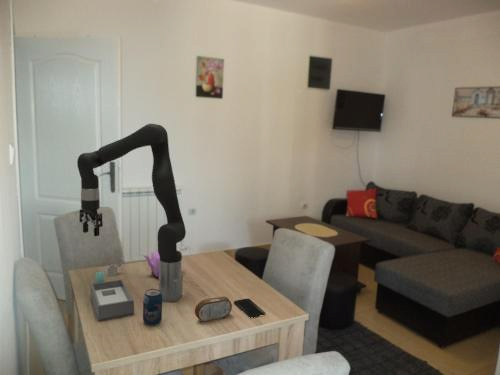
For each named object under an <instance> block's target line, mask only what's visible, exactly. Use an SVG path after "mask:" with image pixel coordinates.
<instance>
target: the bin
mask: <svg viewBox="0 0 500 375" xmlns="http://www.w3.org/2000/svg"><path fill="white" fill-rule="evenodd" d="M90 298H91V299H90V300H91V302H92V306H93V309H94V314H95V316H96V319H97V321H98V322H102V321H109V320H112V319H113V320H114V319H119V318H122V317H123V318H125V317H130V316H134V315H135V314H134V311H135V307H134V306H135V303H134V302H135V300H134V298H133V296H132V294H131V292H130V290H129V289H128V287H127V285H126V283H125V281H124V279H114V280H108V281H107V280H106V281H104V282H99V283H95V282H93V283H90Z"/></svg>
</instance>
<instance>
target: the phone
mask: <svg viewBox="0 0 500 375" xmlns="http://www.w3.org/2000/svg"><path fill="white" fill-rule="evenodd" d="M233 304H234V305H235V306H236V307H237V308H238V309H239V310H240V311H241V312H242V311H243V312H244V313H245V314H246V315H247V316H248V317H250V318H249V319H252V318H251V317H253V318H254V317H256V318H257V317H258V316H260V315H264V314H265V315H266V311H264V310H263V309H262V308H261V307H260V306H258V305H257V304H256V302H254V301H252V299H251V298H242V299H238V300H234V301H233ZM243 312H242V313H243ZM244 313H243V314H244ZM245 314H244V315H245ZM246 315H245V316H246ZM247 316H246V317H247ZM248 317H247V318H248Z"/></svg>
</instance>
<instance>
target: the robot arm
mask: <svg viewBox="0 0 500 375" xmlns="http://www.w3.org/2000/svg"><path fill="white" fill-rule="evenodd" d="M144 147H150V149H151V152H152V153H151V154H152V169H151V170H152V171H151V182H152V187H153V193H154V195H155V197H156V199H157V200H158V202H159V204H160V205H161V206H162V208H163V210H164V212H165V216H166V223H165V224H162V225H161V226H160V227H159V229H158V231H157V251H158V253H159V256H160V264H159V278H158V290H160V291H161V294H162V302H169V303H170V302H175V303H176V302H177V301H178V300H179V299H181V298H182V297H183V284H184V283H183V282H184V281H183V280H184V279H183V278H184V277H183V275H182V260H183V255H182V252H181V251H179V250H178V249H177V247H178V246H177V245H178V244H177V243H181V242H182V241H183V240H184V239H185V237H186V235H187V233H186V232H187V231H186V226H185V223H184V219H183V215H182V212H181V209H180V204H179V202H180V201H179V198H178V193H177V188H176V187H177V186H176V181H175V176H174V173H173V166H172V161H171V156H170V147H169V136H168V132H167V130H166V128H165V127H164V126H162V125H160V124H158V123H157V124H156V123H147V124H145V125H144V126H142V127H141V128H139V129H138V130H136V131H134V132H133V133H130V134H129V135H127V136H125V137H123V138H120V139H117V140H115V141H113V142H110V143H108V144H106V145H103V146H101V147H100V148H98V150H95V151H91V152H83V153H81V154H80V155H78V158H77V163H76V164H77V168H78V169H77V170H78V173H79V177H80V185H81V186H80V187H81V188H80V204H81V205H80V209H79V223H81V224H82V233H84V234H85V233H88V232H89V222H90V224H91V225H92V226H93V236H94V237H99V236H100V228H101V227H103V226H104V225H103V213H102V212H100V213H98V210H99V209H100V201H101V200H100V198H101V197H100V188H99V186H100V184H99V176H98V175H97V174H95V170H94V169H97V168H99V167H102V166H103V165H105V164H107V163H110V162H112V161H115V160H117V159H120V158H122V157H124V156H125V155H127V154H129V153H130V152H132V151H134V150H137V149H139V148H144Z"/></svg>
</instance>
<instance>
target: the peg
mask: <svg viewBox="0 0 500 375" xmlns="http://www.w3.org/2000/svg"><path fill="white" fill-rule="evenodd" d="M94 277H95V280H94V281H95V282H94V283H99V282H105V271H104V270H102V271H101V270H100V271H95V276H94Z"/></svg>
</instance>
